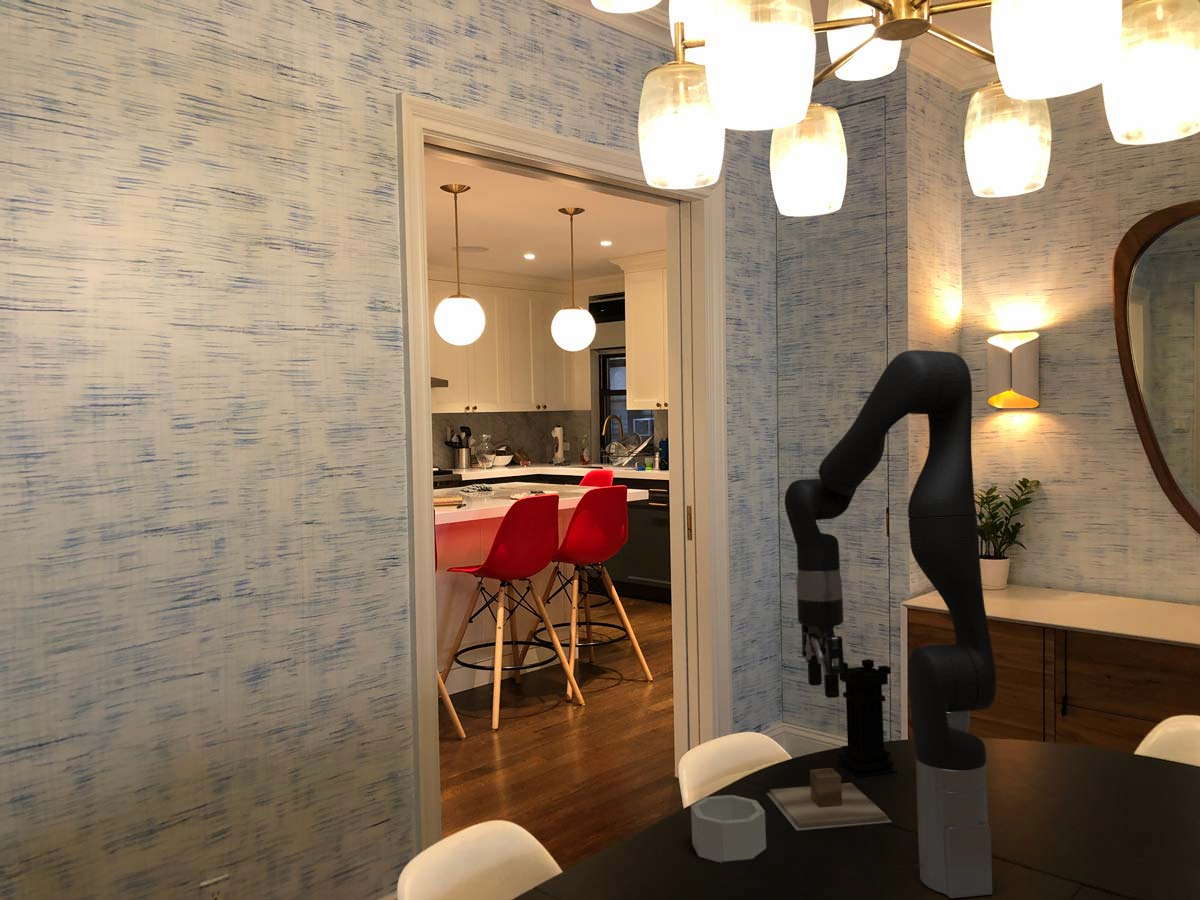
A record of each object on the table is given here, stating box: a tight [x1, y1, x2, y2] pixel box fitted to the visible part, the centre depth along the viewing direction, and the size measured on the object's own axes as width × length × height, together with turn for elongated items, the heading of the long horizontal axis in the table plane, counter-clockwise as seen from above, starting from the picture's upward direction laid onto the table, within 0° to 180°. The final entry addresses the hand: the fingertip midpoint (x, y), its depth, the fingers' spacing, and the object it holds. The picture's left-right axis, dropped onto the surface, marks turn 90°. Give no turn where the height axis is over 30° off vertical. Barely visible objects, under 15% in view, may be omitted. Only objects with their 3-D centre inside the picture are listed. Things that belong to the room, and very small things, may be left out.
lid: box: [769, 767, 889, 829], centre depth 155 cm, size 15×15×6 cm
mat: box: [766, 792, 892, 831], centre depth 155 cm, size 16×16×1 cm
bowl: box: [690, 794, 767, 864], centre depth 141 cm, size 11×11×6 cm
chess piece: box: [836, 658, 898, 779], centre depth 172 cm, size 8×8×20 cm
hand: (823, 690), depth 155 cm, fingers open, 8 cm apart
